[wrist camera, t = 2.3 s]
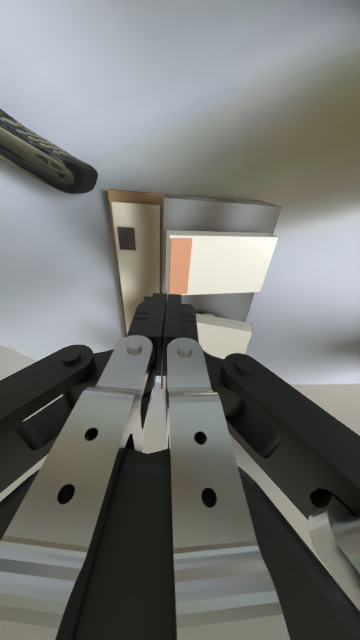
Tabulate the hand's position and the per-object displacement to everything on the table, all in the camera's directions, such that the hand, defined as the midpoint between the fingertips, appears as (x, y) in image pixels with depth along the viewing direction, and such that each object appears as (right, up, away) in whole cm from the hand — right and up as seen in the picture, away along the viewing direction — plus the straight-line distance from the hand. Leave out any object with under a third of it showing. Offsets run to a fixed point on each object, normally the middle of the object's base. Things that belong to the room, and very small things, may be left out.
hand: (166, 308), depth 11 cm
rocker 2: (+4, -2, +13) cm, 13 cm away
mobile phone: (-14, +17, +8) cm, 23 cm away
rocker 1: (+4, +5, +8) cm, 10 cm away
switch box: (+1, +2, +18) cm, 18 cm away
